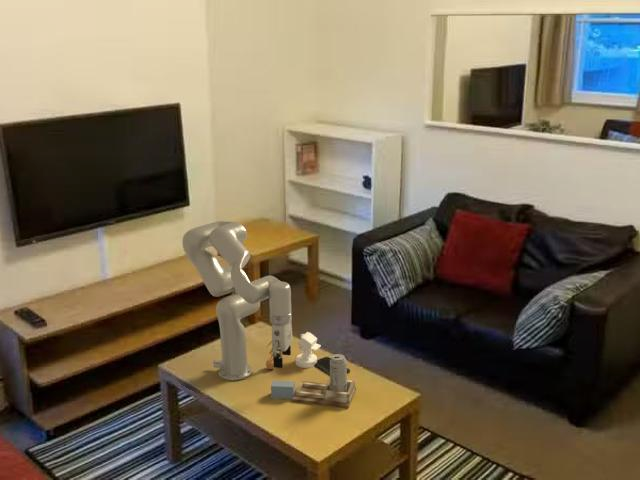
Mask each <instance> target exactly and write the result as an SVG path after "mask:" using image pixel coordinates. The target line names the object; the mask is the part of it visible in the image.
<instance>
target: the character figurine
mask: <svg viewBox="0 0 640 480" xmlns="http://www.w3.org/2000/svg"><path fill="white" fill-rule="evenodd" d="M299 335H300V336H299V337H300V340H299V342H298V350H299V352H302V353H300V354H298V355H297V356H295V365H296V366H297V367H299V368H301V369H302V368H303V369H308V368H313V367H316V366H315V364H316V363H317V360H318V357H317V355H316V354H314V353H313V351H314V352H316V351H318V350H319V349H320V348H321V346H322V345H321V344H319V343H317V342H318V338H317V337H316V336H315V335H314V334H313V333H311V332H309V331H306V333H301V334H299Z"/></svg>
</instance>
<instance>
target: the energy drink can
mask: <svg viewBox="0 0 640 480" xmlns="http://www.w3.org/2000/svg"><path fill="white" fill-rule="evenodd" d="M330 358H331V360H330V375H329V378H330V391H338V392H347V380H348V374H347V368H348V367H347V365H348V363H347V362H348V361H347V359H346V356H345V354H341V353H335V354H332V355H331V357H330Z"/></svg>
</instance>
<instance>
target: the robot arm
mask: <svg viewBox="0 0 640 480" xmlns="http://www.w3.org/2000/svg"><path fill="white" fill-rule="evenodd" d="M247 238H248V232H247V229H246V227H245V226H244V225H243V224H241V223H240V222H238V221H227V220H226V221H225V220H224V221H221V220H220V221H214V222H210V223H207V224H203V225H200V226H197V227H194V228H191V229H190V230H189V229H188V230H187V231H186V232H185V233H184V235H183V237H182V242H181V243H182V248H183V251H184V253H185V255H186V256H187V258H188V259H189V261H190V262H191V263H192V264H193V266H194V267H195V269H196V270H197V272H198V274H199V276H200V278H201V280H202V281H203V283H204V285H205V287H206V288H207V291H208V292H209V294H210V295H212V296H213V297H215V298H217V297H221V296H224V295H227V294H230V293H232V294H231V295H228V296H225V297H223V298H221V300H219V301H218V302H217V304H216V306H215V312H216V316H217V320H218V325H219V333H220V345H221V347H220V348H221V349H220V350H221V360H218V359H213V361H212V364H213V368H219V370H218V375H219V377H220V378H221V379H223V380H225V381H241V380H245V379H248V377H249V376H251V375H252V373H253V369H252V366H251V365H249V364H248V351H247V333H246V328H245V326H244V325H243V323H242V322H241V320H242V319H244V318H245V317H248V316H250V315H252V314H254V313H256V312H258V310H259V309H260V306H261V302H262V301H265V300H267V299H269V302H268V303H269V321H270V323H271V324H272V325H271V341H272V343H271V346H272V347H271V349H273V352H272V353H273V357H272V359H273V363H274V367H275V368H276V369H283V365H284V364H283V357H282V356H291V354H292V353H291V352H292V350H291V349H292V347H291V345H292V343H293V339H294V338H293V328H292V327H293V325H292V319H293V318H292V315H293V314H292V291H291V286H290V284H289V283H288V282H286V281H281V280H279V278H277V277H275V276H273V275H265V276H263V277H260V278H258V279H254V280H253V281H251V280H250V279H249V277H248V275H247V274H246V272H245V271H244V270H243V268H244V267H245V266H246V265H247V264H248V262H249V260H250V258H251V254H250V251H249V250H248V249H247V248H246V246H244V245H243V243H246V240H248V239H247ZM209 247H213V249H214V250H215V251H217V253H218V254H219V255H220V256H221V257H222V259H223V260H224V261H225V262H226V263H227V265H229V266H227V267H222V265H221V264H220V261H219V260H218V258H217V256H215V255H214V254H213V253H211V252H210V251H207V250H206V249H207V248H209ZM233 292H234V293H233ZM279 348H281V349H279ZM279 351H280V354H279ZM275 368H274V369H275Z"/></svg>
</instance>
